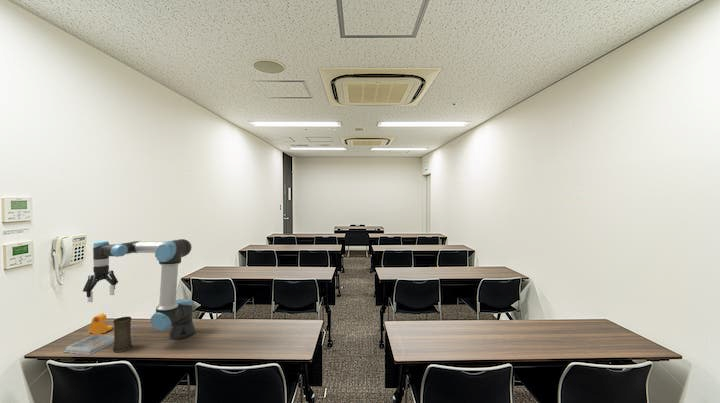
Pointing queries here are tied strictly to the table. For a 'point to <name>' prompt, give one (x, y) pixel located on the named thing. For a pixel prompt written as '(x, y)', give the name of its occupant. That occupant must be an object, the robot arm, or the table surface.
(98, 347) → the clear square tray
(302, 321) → the table surface
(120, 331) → the container
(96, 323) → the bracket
